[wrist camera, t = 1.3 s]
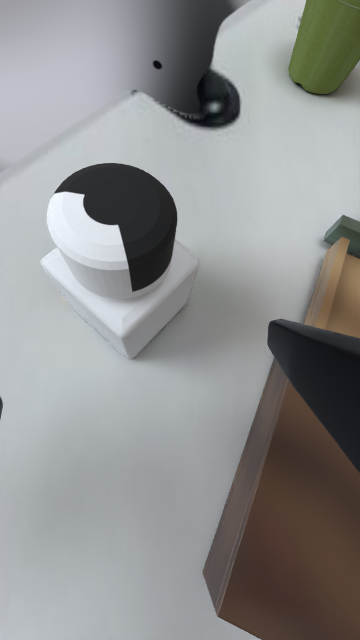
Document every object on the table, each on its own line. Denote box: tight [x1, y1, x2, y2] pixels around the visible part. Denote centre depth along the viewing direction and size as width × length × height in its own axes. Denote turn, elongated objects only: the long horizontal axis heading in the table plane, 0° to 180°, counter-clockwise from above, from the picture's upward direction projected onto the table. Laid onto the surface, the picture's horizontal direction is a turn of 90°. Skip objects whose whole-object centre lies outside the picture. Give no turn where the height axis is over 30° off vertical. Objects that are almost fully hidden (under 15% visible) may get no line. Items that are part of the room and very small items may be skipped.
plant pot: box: [288, 0, 360, 94], centre depth 31 cm, size 12×12×11 cm
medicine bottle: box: [41, 163, 200, 359], centre depth 18 cm, size 7×7×12 cm
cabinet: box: [203, 358, 360, 640], centre depth 18 cm, size 16×14×4 cm
